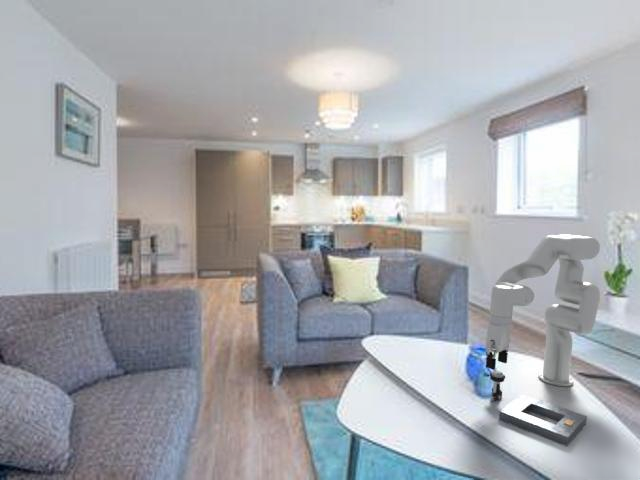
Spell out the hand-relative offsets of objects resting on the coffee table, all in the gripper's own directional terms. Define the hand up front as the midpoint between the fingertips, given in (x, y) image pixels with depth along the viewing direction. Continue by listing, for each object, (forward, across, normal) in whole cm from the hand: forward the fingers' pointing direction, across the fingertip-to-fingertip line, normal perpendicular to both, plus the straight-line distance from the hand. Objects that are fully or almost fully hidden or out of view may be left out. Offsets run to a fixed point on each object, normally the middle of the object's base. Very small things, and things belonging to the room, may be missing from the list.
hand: (496, 365), depth 160 cm
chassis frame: (+13, +3, +18) cm, 23 cm away
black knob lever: (+13, -1, 0) cm, 13 cm away
